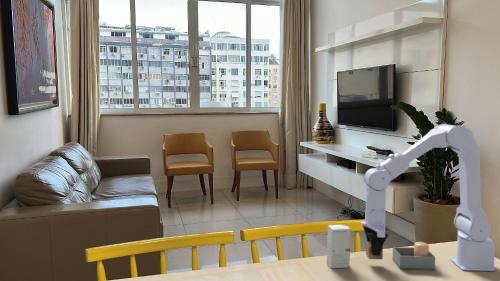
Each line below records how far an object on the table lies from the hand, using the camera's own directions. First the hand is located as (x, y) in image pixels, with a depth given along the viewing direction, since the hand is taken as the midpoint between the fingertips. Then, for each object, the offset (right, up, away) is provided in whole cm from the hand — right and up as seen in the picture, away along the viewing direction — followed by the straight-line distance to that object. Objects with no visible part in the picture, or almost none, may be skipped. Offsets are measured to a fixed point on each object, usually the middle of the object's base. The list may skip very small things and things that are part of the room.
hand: (374, 251), depth 115 cm
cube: (0, -1, 0) cm, 2 cm away
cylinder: (+14, -4, +1) cm, 15 cm away
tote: (+12, -4, +1) cm, 13 cm away
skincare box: (-11, -4, +1) cm, 12 cm away
